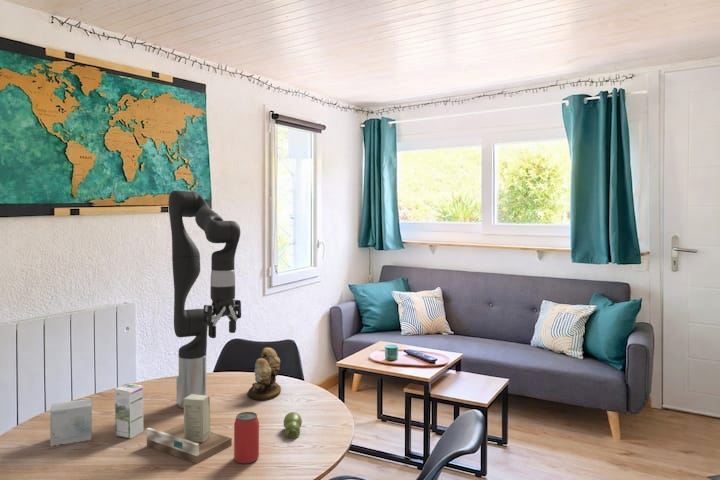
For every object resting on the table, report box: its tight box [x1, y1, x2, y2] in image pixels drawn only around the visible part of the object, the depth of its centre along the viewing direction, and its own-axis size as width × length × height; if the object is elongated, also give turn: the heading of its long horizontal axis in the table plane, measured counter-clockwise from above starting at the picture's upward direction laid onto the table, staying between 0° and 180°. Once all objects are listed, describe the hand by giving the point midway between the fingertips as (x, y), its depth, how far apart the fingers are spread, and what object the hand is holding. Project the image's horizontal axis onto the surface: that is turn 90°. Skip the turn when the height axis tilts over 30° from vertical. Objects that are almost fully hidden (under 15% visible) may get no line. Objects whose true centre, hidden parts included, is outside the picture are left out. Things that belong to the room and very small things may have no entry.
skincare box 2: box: [183, 394, 212, 442], centre depth 147 cm, size 6×4×12 cm
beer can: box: [233, 411, 260, 465], centre depth 140 cm, size 7×7×12 cm
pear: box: [283, 411, 303, 439], centre depth 158 cm, size 6×5×10 cm
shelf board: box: [146, 423, 232, 464], centre depth 147 cm, size 20×13×5 cm, turn 60°
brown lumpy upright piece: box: [247, 347, 282, 402], centre depth 193 cm, size 18×12×17 cm, turn 2°
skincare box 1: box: [49, 398, 93, 447], centre depth 150 cm, size 10×6×10 cm, turn 117°
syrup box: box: [114, 383, 145, 439], centre depth 154 cm, size 6×6×14 cm
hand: (222, 335), depth 163 cm, fingers open, 8 cm apart
